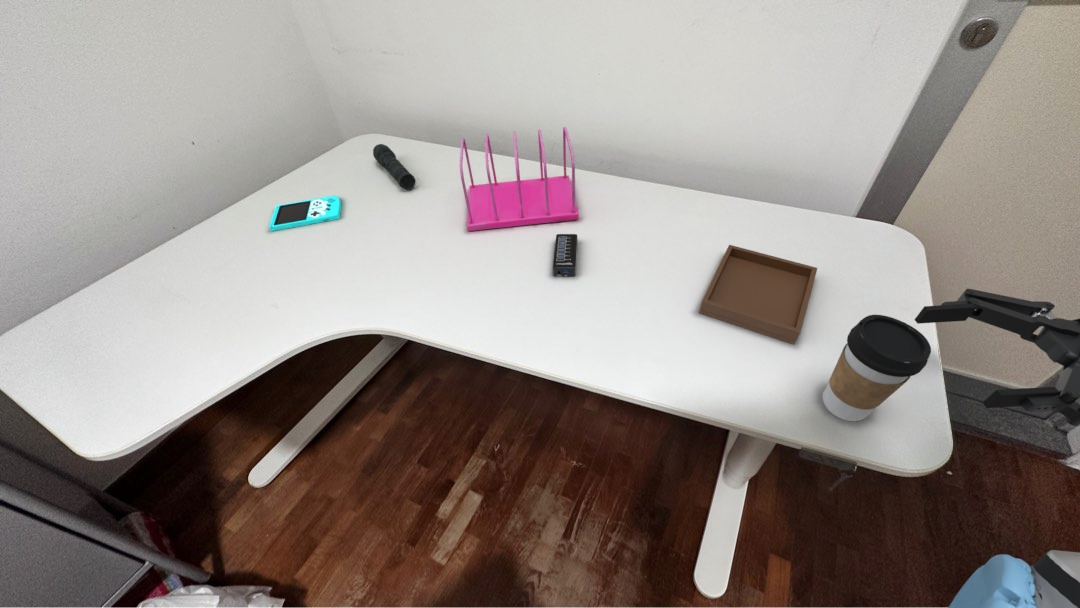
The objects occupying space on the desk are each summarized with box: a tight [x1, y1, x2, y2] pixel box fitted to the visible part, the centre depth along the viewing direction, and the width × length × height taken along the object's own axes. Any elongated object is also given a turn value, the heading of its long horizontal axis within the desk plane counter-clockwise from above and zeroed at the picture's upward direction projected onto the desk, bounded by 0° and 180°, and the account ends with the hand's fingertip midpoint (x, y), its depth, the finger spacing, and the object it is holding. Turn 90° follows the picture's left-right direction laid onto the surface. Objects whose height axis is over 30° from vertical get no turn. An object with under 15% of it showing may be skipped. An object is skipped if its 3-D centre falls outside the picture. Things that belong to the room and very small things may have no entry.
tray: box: [698, 244, 818, 345], centre depth 81 cm, size 18×16×3 cm
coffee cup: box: [821, 314, 932, 422], centre depth 61 cm, size 8×8×15 cm
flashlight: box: [372, 143, 417, 191], centre depth 121 cm, size 5×21×5 cm, turn 33°
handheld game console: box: [268, 195, 342, 232], centre depth 111 cm, size 10×16×1 cm, turn 103°
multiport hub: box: [552, 233, 578, 278], centre depth 93 cm, size 4×11×2 cm, turn 175°
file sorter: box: [459, 126, 580, 232], centre depth 103 cm, size 17×25×16 cm
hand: (952, 353), depth 58 cm, fingers open, 13 cm apart
